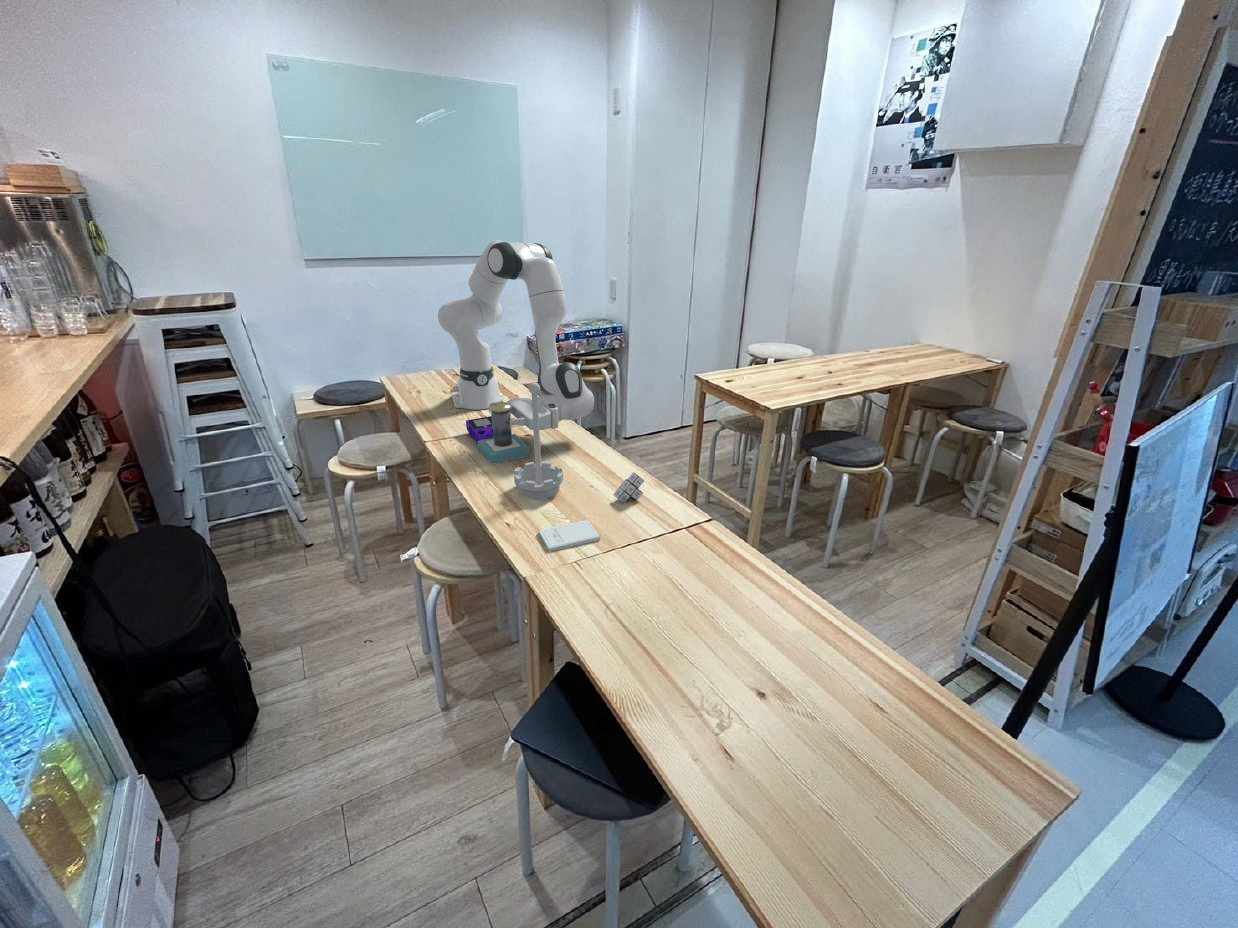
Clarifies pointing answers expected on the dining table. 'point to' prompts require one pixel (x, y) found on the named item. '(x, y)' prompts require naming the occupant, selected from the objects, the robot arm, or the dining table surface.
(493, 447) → the stand
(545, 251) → the robot arm
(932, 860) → the dining table surface
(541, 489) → the flag stand
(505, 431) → the metal jar with lid
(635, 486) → the building blocks
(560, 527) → the external hard drive
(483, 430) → the handheld gaming console
